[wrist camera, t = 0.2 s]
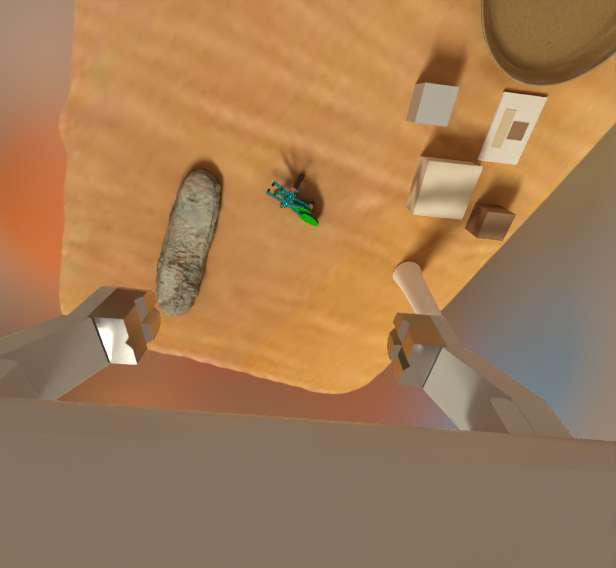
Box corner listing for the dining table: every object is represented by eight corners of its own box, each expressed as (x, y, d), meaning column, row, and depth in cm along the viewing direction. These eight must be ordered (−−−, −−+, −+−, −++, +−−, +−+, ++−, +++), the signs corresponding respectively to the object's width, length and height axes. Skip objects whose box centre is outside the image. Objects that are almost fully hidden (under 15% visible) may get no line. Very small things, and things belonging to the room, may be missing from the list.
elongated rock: (237, 180, 55) (186, 157, 54) (229, 185, 51) (173, 160, 49) (194, 317, 71) (154, 302, 69) (186, 331, 66) (142, 315, 65)
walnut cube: (475, 203, 55) (488, 211, 51) (500, 206, 56) (515, 214, 51) (464, 227, 58) (476, 237, 54) (489, 230, 58) (502, 240, 54)
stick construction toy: (257, 193, 53) (278, 192, 47) (276, 161, 54) (299, 156, 47) (302, 229, 60) (325, 232, 54) (318, 201, 61) (343, 200, 55)
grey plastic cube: (415, 84, 46) (425, 82, 41) (446, 88, 46) (459, 87, 42) (406, 120, 48) (414, 122, 44) (435, 124, 49) (446, 126, 44)
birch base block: (419, 155, 51) (429, 160, 47) (469, 161, 52) (483, 166, 47) (405, 205, 56) (412, 214, 52) (450, 210, 56) (462, 219, 52)
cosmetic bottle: (421, 259, 62) (468, 327, 43) (420, 283, 65) (463, 356, 46) (392, 263, 62) (426, 332, 44) (392, 286, 66) (424, 360, 47)
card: (502, 92, 46) (505, 91, 45) (545, 97, 46) (548, 97, 46) (476, 159, 51) (478, 160, 51) (514, 164, 52) (516, 164, 51)
